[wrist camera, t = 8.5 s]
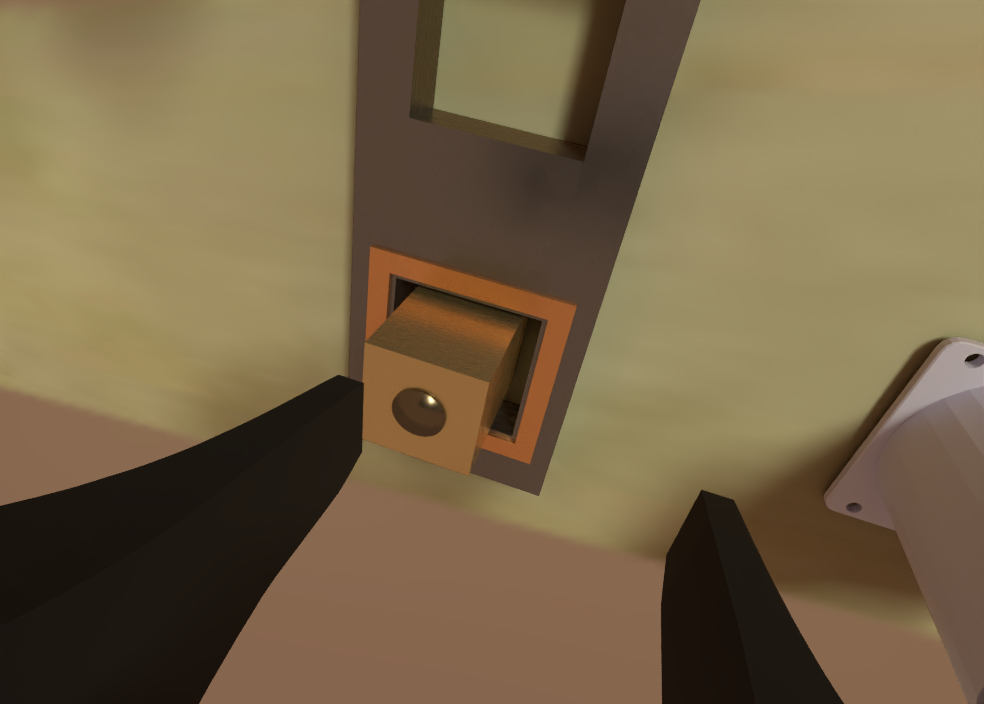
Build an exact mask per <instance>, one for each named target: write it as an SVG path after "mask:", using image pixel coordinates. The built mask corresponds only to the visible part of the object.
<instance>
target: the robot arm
mask: <svg viewBox="0 0 984 704" xmlns="http://www.w3.org/2000/svg"><path fill="white" fill-rule="evenodd" d="M972 354H979V357H978V358H976V359H975V360H973V361H969V362H967V361H965V359H966V358H967V357H968V356H969V355H972ZM363 401H364V383H363V382H360V381H356V380H353V379H350V378H347V377H344V376H341V375H337V376H335V377H333V378H331V379H329V380H327V381H325V382H323V383H321V384H320V385H318V386H316V387H314V388H312V389H310V390H308V391H306V392H305V393H303V394H301V395H299V396H297V397H295V398H293V399H291V400H289V401H287V402H286V403H284V404H282V405H280V406H278V407H276V408H274V409H272V410H270V411H268V412H266V413H264V414H262V415H260V416H258V417H256V418H254V419H252V420H250V421H248V422H246V423H244V424H242V425H240V426H237V427H235V428H233V429H231V430H229V431H227V432H224V433H222V434H220V435H218V436H216V437H213V438H211V439H209V440H207V441H205V442H203V443H200V444H198V445H196V446H193V447H191V448H188V449H186V450H183V451H181V452H178V453H176V454H173V455H170V456H168V457H165V458H162V459H160V460H157V461H154V462H152V463H149V464H146V465H144V466H140V467H138V468H135V469H132V470H128V471H125V472H122V473H119V474H116V475H113V476H109V477H106V478H103V479H99V480H96V481H93V482H90V483H87V484H83V485H80V486H77V487H73V488H70V489H66V490H63V491H58V492H55V493H51V494H47V495H43V496H40V497H36V498H32V499H27V500H23V501H19V502H15V503H10V504H6V505H2V506H0V704H199V703H200V701H201V699H202V697H203V695H204V694H205V692H206V690H207V688H208V686H209V685H210V683H211V681H212V679H213V678H214V676H215V674H216V673H217V670H218V669H219V667H220V666H221V664H222V662H223V661H224V659H225V657H226V655H227V654H228V652H229V650H230V649H231V647H232V645H233V644H234V642H235V640H236V638H237V637H238V635H239V633H240V632H241V630H242V628H243V627H244V625H245V624H246V622H247V620H248V619H249V617H250V615H251V614H252V612H253V611H254V609H255V607H256V606H257V604H258V602H259V601H260V599H261V597H262V596H263V594H264V593H265V591H266V590H267V588H268V587H269V586H270V584H271V583H272V581H273V580H274V578H275V577H276V576H277V574H278V573H279V571H280V570H281V569H282V567H283V566H284V565H285V564H286V562H287V561H288V559H289V558H290V557H291V556H292V554H293V553H294V552H295V550H296V549H297V548H298V546H299V545H300V544H301V542H302V541H303V540H304V538H305V537H306V535H307V534H308V533H309V532H310V530H311V529H312V528H313V526H314V525H315V524H316V522H317V521H318V520H319V518H320V517H321V516H322V514H323V513H324V512H325V510H326V509H327V508H328V506H329V505H330V504H331V502H332V501H333V499H334V498H335V497H336V495H337V494H338V493H339V491H340V489H341V488H342V486H343V484H344V483H345V481H346V479H347V478H348V476H349V474H350V472H351V471H352V469H353V467H354V465H355V463H356V462H357V460H358V458H359V456H360V454H361V453H362V434H363ZM824 500H825V503H826V506H827V507H828V508H829V509H831V510H833V511H835V512H838V513H841V514H844V515H847V516H851V517H854V518H857V519H860V520H863V521H866V522H869V523H872V524H875V525H878V526H882V527H885V528H888V529H891V530H894V531H896V533H897V535H898V538H899V540H900V543H901V545H902V547H903V550H904V552H905V555H906V557H907V559H908V562H909V564H910V566H911V569H912V571H913V574H914V576H915V578H916V581H917V583H918V585H919V588H920V590H921V593H922V595H923V597H924V600H925V602H926V604H927V607H928V609H929V612H930V614H931V616H932V619H933V621H934V624H935V626H936V628H937V631H938V633H939V635H940V638H941V640H942V643H943V645H944V647H945V650H946V652H947V654H948V657H949V659H950V662H951V664H952V666H953V669H954V671H955V673H956V676H957V678H958V681H959V683H960V685H961V688H962V690H963V693H964V695H965V697H966V699H967V702H968V704H984V343H981V342H978V341H974V340H970V339H966V338H962V337H953V338H948V339H946V340H944V341H941V342H940V343H939V344H938V345H937V346H936V347H935V349H934V350H933V351H932V353H931V354H930V355H929V357H928V358H927V359H926V361H925V362H924V363H923V364H922V366H921V367H920V368H919V370H918V371H917V372H916V374H915V375H914V376H913V378H912V379H911V380H910V382H909V383H908V384H907V386H906V387H905V388H904V390H903V391H902V392H901V393H900V395H899V396H898V397H897V399H896V400H895V401H894V403H893V404H892V405H891V407H890V408H889V409H888V411H887V412H886V413H885V415H884V416H883V417H882V419H881V420H880V421H879V422H878V424H877V425H876V426H875V428H874V429H873V430H872V432H871V433H870V434H869V436H868V437H867V438H866V440H865V441H864V442H863V444H862V445H861V446H860V448H859V449H858V450H857V451H856V453H855V454H854V455H853V457H852V458H851V459H850V461H849V462H848V463H847V465H846V466H845V467H844V469H843V470H842V471H841V473H840V474H839V475H838V477H837V478H836V479H835V480H834V482H833V483H832V484H831V486H830V487H829V488H828V490H827V491H826V492H825V494H824ZM850 503H857V504H856V505H848V504H850ZM661 651H662V652H661V653H662V704H844V703H843V701H842V700H841V699H840V697H839V696H838V694H837V693H836V691H835V689H834V688H833V687H832V685H831V683H830V682H829V680H828V678H827V677H826V676H825V674H824V672H823V670H822V669H821V667H820V665H819V664H818V662H817V661H816V659H815V657H814V655H813V654H812V652H811V650H810V648H809V647H808V645H807V643H806V642H805V640H804V638H803V636H802V635H801V633H800V631H799V629H798V627H797V626H796V624H795V622H794V620H793V618H792V617H791V615H790V613H789V611H788V609H787V607H786V605H785V603H784V601H783V600H782V598H781V596H780V594H779V592H778V590H777V588H776V586H775V584H774V582H773V580H772V578H771V576H770V574H769V572H768V570H767V568H766V566H765V564H764V562H763V560H762V558H761V556H760V554H759V552H758V550H757V548H756V546H755V544H754V542H753V540H752V537H751V535H750V533H749V531H748V529H747V527H746V525H745V523H744V520H743V518H742V516H741V514H740V512H739V510H738V508H737V506H736V504H735V502H734V500H732V499H729V498H726V497H723V496H719V495H716V494H713V493H710V492H707V491H704V490H701V492H700V494H699V496H698V497H697V499H696V501H695V503H694V505H693V507H692V509H691V510H690V512H689V514H688V516H687V518H686V520H685V522H684V523H683V525H682V527H681V529H680V531H679V533H678V535H677V536H676V538H675V540H674V542H673V544H672V546H671V548H670V549H669V551H668V553H667V556H666V565H665V573H664V582H663V591H662V601H661Z"/></svg>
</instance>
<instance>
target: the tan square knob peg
mask: <svg viewBox="0 0 984 704" xmlns="http://www.w3.org/2000/svg"><path fill="white" fill-rule="evenodd" d="M527 320H528V317H526V316H523V315H520V314H516V313H513V312H509V311H506V310H503V309H499V308H496V307H493V306H489V305H486V304H483V303H479V302H476V301H472V300H469V299H466V298H462V297H459V296H456V295H452V294H449V293H446V292H442V291H439V290H435V289H432V288H429V287H425V286H422V285H419V286H418V287H417V288H416V289H415V290H414V291H413V292H412V293H411V294H410V295H409V296H408V297H407V298H406V299H405V300H404V301H403V303H402V304H401V305H400V306H399V307H398V308H397V309H396V310H395V311H394V312H393V313H392V314H391V315H390V316H389V317H388V318H387V319H386V320H385V321H384V323H383V324H382V325H381V326H380V327H379V328H378V329H377V330H376V331H375V332H374V333H373V334H372V335H371V336H370V337H369V338H368V339H367V340H366V341H365V345H364V363H363V381H362V382H363V383H364V401H363V434H362V439H364V440H367V441H370V442H373V443H376V444H378V445H381V446H384V447H387V448H390V449H393V450H396V451H398V452H401V453H404V454H407V455H410V456H413V457H416V458H418V459H421V460H424V461H427V462H430V463H433V464H436V465H438V466H441V467H444V468H447V469H450V470H453V471H456V472H458V473H461V474H464V475H467V476H469V474H470V472H471V470H472V468H473V465H474V463H475V461H476V459H477V457H478V454H479V452H480V450H481V448H482V445H483V443H484V441H485V439H486V437H487V434H488V432H489V430H490V428H491V426H492V423H493V421H494V419H495V417H496V415H497V412H498V410H499V408H500V406H501V403H502V401H503V399H504V397H505V395H506V392H507V390H508V388H509V386H510V384H511V381H512V379H513V376H514V372H515V368H516V364H517V360H518V356H519V352H520V348H521V344H522V340H523V336H524V332H525V328H526V324H527Z"/></svg>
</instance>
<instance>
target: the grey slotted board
mask: <svg viewBox="0 0 984 704" xmlns="http://www.w3.org/2000/svg"><path fill="white" fill-rule="evenodd" d="M699 3H700V0H626V2H625V6H624V10H623V14H622V18H621V21H620V25H619V29H618V33H617V37H616V41H615V44H614V48H613V52H612V56H611V60H610V64H609V67H608V71H607V75H606V79H605V83H604V87H603V90H602V94H601V98H600V102H599V106H598V109H597V113H596V117H595V121H594V125H593V129H592V132H591V136H590V140H589V144H588V147H586V146H582V145H578V144H574V143H570V142H566V141H562V140H558V139H553V138H549V137H545V136H541V135H537V134H533V133H529V132H525V131H521V130H517V129H513V128H509V127H505V126H501V125H497V124H493V123H489V122H485V121H481V120H477V119H473V118H469V117H465V116H461V115H457V114H453V113H449V112H445V111H441V110H437V109H433V104H434V94H435V85H436V75H437V65H438V56H439V46H440V36H441V27H442V17H443V7H444V0H360V18H359V51H358V85H357V118H356V151H355V184H354V217H353V250H352V283H351V316H350V350H349V378H350V379H353V380H356V381H360V382H362V381H363V363H364V345H365V341H366V340H367V339H368V338H369V337H370V336H371V335H372V334H373V333H374V332H375V331H376V330H377V329H378V328H379V327H380V326H381V325H382V324H383V323H384V321H385V320H386V319H387V318H388V317H389V316H390V315H391V314H392V313H393V312H394V311H395V310H396V309H397V308H398V307H399V306H400V305H401V304H402V303H403V301H404V300H405V299H406V298H407V297H408V296H409V295H410V294H411V293H412V292H413V291H414V288H415V284H419V285H422V286H425V287H429V288H432V289H435V290H439V291H442V292H446V293H449V294H452V295H456V296H459V297H462V298H466V299H469V300H472V301H476V302H479V303H483V304H486V305H489V306H493V307H496V308H499V309H503V310H506V311H509V312H513V313H516V314H520V315H523V316H526V317H530V318H533V319H536V320H540V321H542V324H541V328H540V332H539V335H538V339H537V343H536V347H535V351H534V354H533V358H532V362H531V366H530V370H529V374H528V377H527V381H526V385H525V389H524V393H523V397H522V400H521V404H520V406H518V405H515V404H512V403H509V402H506V401H502V403H501V406H500V408H499V410H498V412H497V415H496V417H495V419H494V421H493V423H492V426H491V428H490V430H489V432H488V434H487V437H486V439H485V441H484V443H483V445H482V448H481V450H480V452H479V454H478V457H477V459H476V461H475V463H474V465H473V468H472V470H471V472H470V473H473V474H476V475H479V476H482V477H485V478H488V479H491V480H494V481H497V482H500V483H502V484H505V485H508V486H511V487H514V488H517V489H520V490H523V491H526V492H529V493H531V494H534V495H537V496H539V494H540V491H541V488H542V485H543V482H544V479H545V476H546V473H547V470H548V467H549V464H550V460H551V457H552V454H553V451H554V448H555V445H556V442H557V439H558V436H559V433H560V430H561V427H562V424H563V421H564V418H565V414H566V411H567V408H568V405H569V402H570V399H571V396H572V393H573V390H574V387H575V384H576V381H577V378H578V375H579V371H580V368H581V365H582V362H583V359H584V356H585V353H586V350H587V347H588V344H589V341H590V338H591V335H592V332H593V329H594V325H595V322H596V319H597V316H598V313H599V310H600V307H601V304H602V301H603V298H604V295H605V292H606V289H607V286H608V282H609V279H610V276H611V273H612V270H613V267H614V264H615V261H616V258H617V255H618V252H619V249H620V246H621V243H622V240H623V236H624V233H625V230H626V227H627V224H628V221H629V218H630V215H631V212H632V209H633V206H634V203H635V200H636V197H637V194H638V190H639V187H640V184H641V181H642V178H643V175H644V172H645V169H646V166H647V163H648V160H649V157H650V154H651V151H652V147H653V144H654V141H655V138H656V135H657V132H658V129H659V126H660V123H661V120H662V117H663V114H664V111H665V108H666V105H667V101H668V98H669V95H670V92H671V89H672V86H673V83H674V80H675V77H676V74H677V71H678V68H679V65H680V62H681V58H682V55H683V52H684V49H685V46H686V43H687V40H688V37H689V34H690V31H691V28H692V25H693V22H694V19H695V16H696V12H697V9H698V6H699Z"/></svg>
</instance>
